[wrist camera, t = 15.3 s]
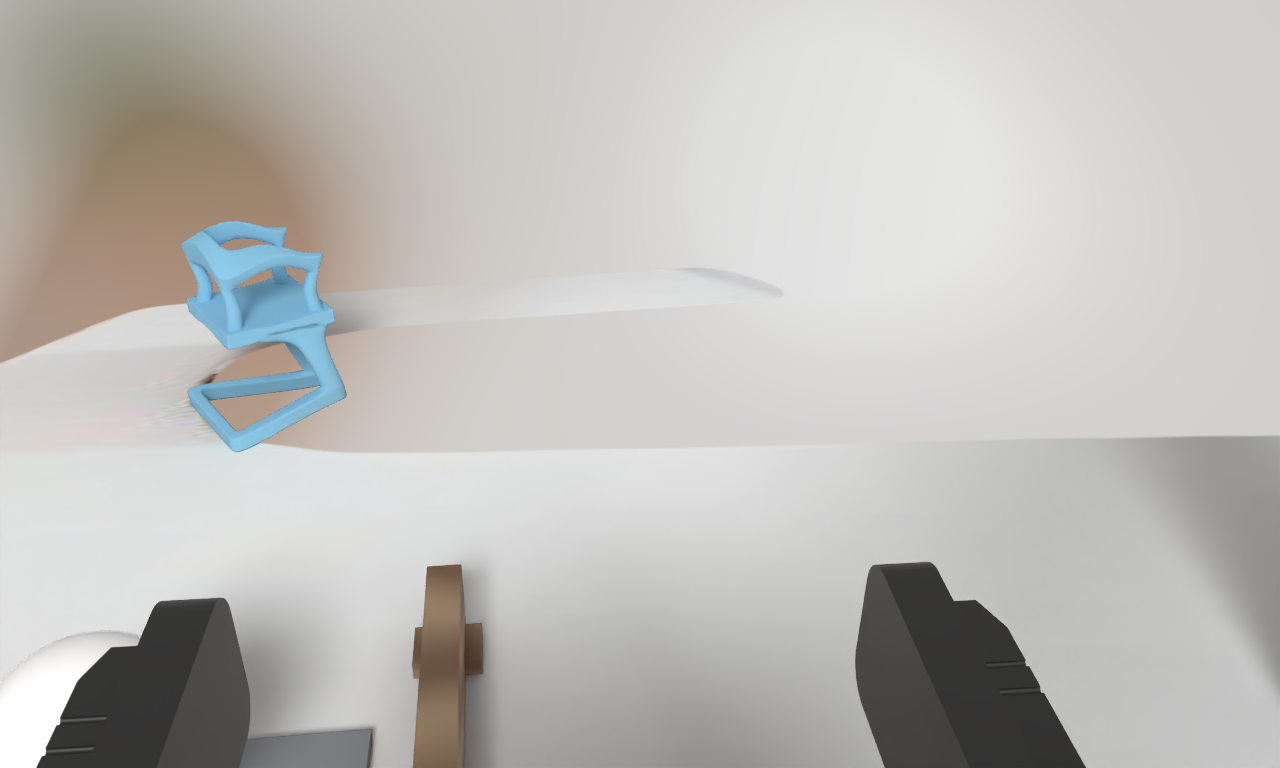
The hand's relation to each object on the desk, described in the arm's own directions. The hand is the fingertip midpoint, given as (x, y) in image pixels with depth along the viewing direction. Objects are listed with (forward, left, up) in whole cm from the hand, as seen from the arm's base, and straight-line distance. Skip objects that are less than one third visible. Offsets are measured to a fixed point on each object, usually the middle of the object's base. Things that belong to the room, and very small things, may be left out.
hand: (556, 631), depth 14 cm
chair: (-29, -44, -25) cm, 59 cm away
